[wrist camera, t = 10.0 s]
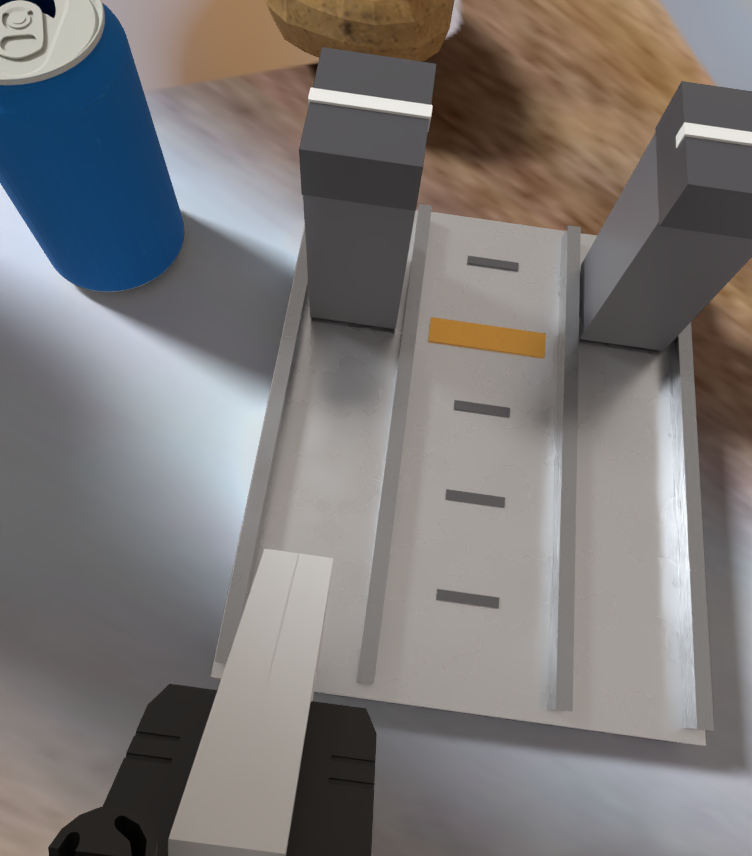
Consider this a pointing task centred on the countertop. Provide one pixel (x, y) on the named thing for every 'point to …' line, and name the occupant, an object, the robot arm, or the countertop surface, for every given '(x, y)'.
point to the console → (490, 495)
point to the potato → (365, 25)
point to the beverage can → (83, 146)
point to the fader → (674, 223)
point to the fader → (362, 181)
